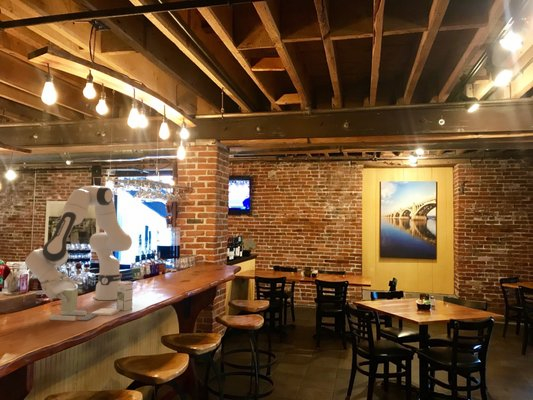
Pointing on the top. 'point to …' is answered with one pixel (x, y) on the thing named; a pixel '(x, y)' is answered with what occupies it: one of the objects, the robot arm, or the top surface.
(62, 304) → the sage block
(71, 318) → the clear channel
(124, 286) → the syrup box
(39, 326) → the top surface
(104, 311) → the coaster board
